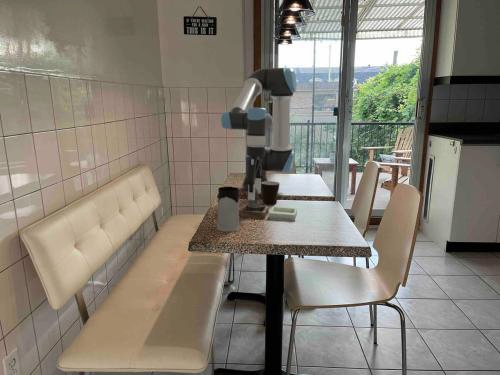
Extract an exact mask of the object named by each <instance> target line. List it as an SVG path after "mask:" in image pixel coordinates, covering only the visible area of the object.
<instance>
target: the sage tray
mask: <svg viewBox="0 0 500 375" xmlns="http://www.w3.org/2000/svg"><path fill="white" fill-rule="evenodd" d="M297 215H298V208H297V207H282V206H272V207H271V209H270V210H269V212H268V220H280V221H290V222H291V221H292V222H295V221H296V220H297V219H296V218H297Z"/></svg>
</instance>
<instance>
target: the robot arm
mask: <svg viewBox="0 0 500 375" xmlns="http://www.w3.org/2000/svg"><path fill="white" fill-rule="evenodd" d="M264 92H265V93H270V94H269V96H270V97H271V99H272V101H273V102H272V107H273V108H272V115H271V114H270V113H268V112H267V109H266V108H264V107H253V104H254V102H255V101H256V98H257V97H258V96H259V95H260V94H261V93H264ZM296 92H297V76H296V72H295V70H294V69H293V68H288V67H276V68H275V67H274V68H272V67H271V68H270V67H263V68H260V69H257V70H256V71H254V72H252V73H250V74H249V76H247V78H246V79H245V81H244V83H243V89H242V91H241V92H240V94H239V95H238V97H237V98H236V101H235V103H234V104H233V106H232V108H231V110H230V111H229V110H228V111H224V112H222V114H221V116H220V123H221V126H222V128H223V129H225V130H240V131H241V130H243V131H245V130H246V137H245V140H246V145H247V146H246V152H245V175H244V178H243V180H242V185H241V190H244V191H247V201H251V200H255V187H256V189H257V190H258V194H262V185H261V182H264V181H269V180H268V178H267V172H270V173H271V172H273V173H290V172H292V170H293V167H294V162H295V157H296V152H295V151H293V148H292V146H291V145H290V118H291V117H290V111H291V99H292V97H293V96H294V93H296ZM271 128H272V145H271V146H270V147H269V149H268V146H266V139H267V138H266V133H267V132H266V131H268V130H269V129H271Z"/></svg>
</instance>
